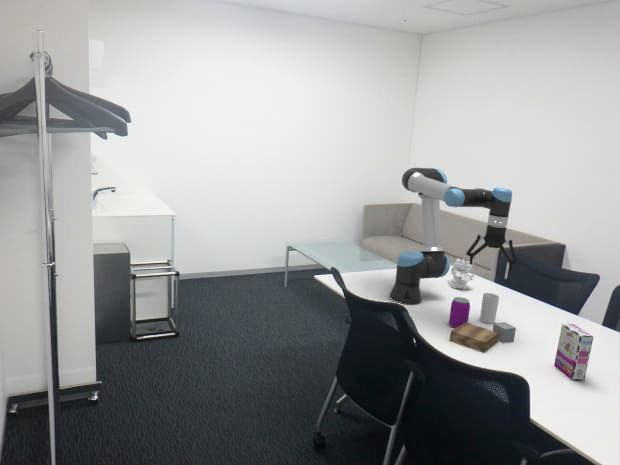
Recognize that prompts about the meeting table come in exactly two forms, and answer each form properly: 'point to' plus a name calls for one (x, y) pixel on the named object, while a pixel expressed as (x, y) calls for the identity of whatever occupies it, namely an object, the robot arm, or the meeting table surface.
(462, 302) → the beverage can
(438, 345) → the meeting table surface
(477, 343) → the walnut block
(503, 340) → the grey block
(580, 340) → the candy bar box
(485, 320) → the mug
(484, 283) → the meeting table surface
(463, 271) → the silvery white figurine
